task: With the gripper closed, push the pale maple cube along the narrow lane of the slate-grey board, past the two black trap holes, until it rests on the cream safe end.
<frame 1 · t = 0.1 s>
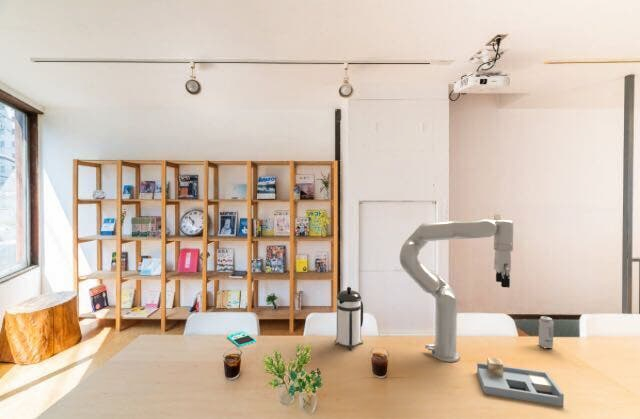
hand: (502, 284, 146), 37 cm above the table, tool pointing down, fingers open, 9 cm apart
maple cube: (494, 372, 133), point 3 cm above the table, touching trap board
energy drink can: (545, 347, 164), on the table
coffee press: (349, 343, 168), on the table
handheld game console: (241, 340, 172), on the table
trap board: (516, 388, 128), on the table
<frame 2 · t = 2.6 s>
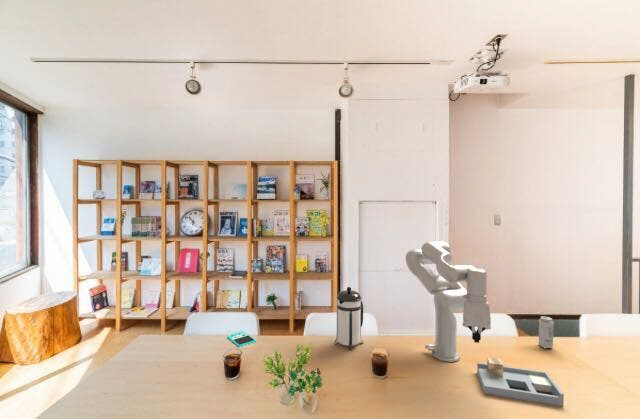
hand: (476, 341, 135), 15 cm above the table, tool pointing down, fingers closed
nothing on the table moved.
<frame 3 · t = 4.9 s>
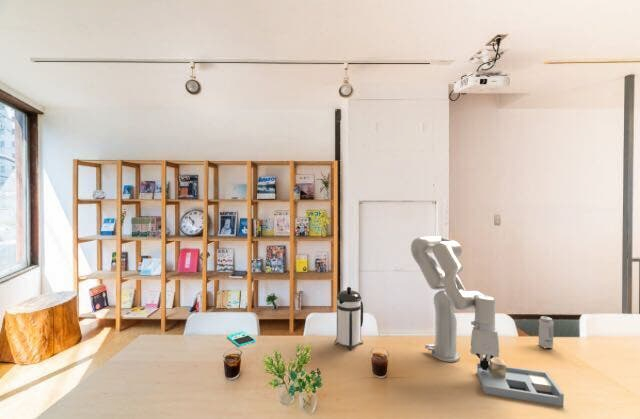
hand: (484, 368, 134), 4 cm above the table, tool pointing down, fingers closed
maple cube: (497, 373, 133), point 3 cm above the table, touching gripper, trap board
everything else where it was.
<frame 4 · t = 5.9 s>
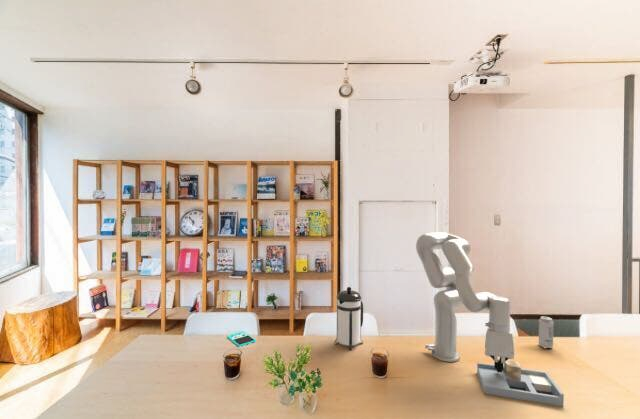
hand: (498, 370, 133), 4 cm above the table, tool pointing down, fingers closed
maple cube: (512, 375, 131), point 3 cm above the table, touching gripper, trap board
everything else where it was.
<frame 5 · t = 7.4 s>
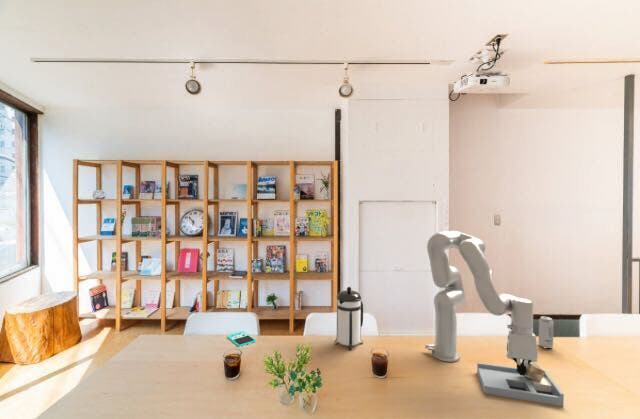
hand: (521, 373, 130), 4 cm above the table, tool pointing down, fingers closed
maple cube: (531, 376, 130), point 4 cm above the table, tilted 19°, touching gripper, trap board
everything else where it was.
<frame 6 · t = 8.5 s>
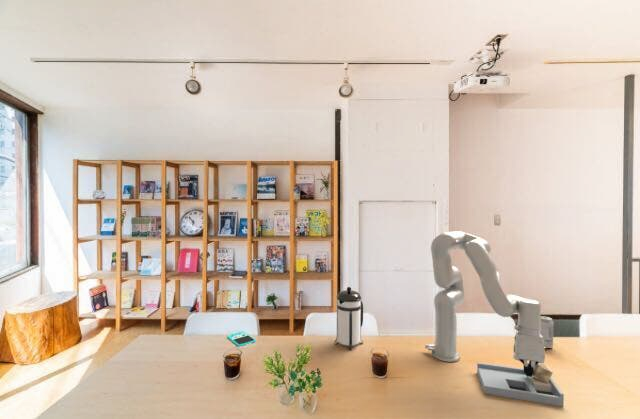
hand: (528, 375, 130), 4 cm above the table, tool pointing down, fingers closed
maple cube: (538, 377, 129), point 4 cm above the table, tilted 19°, touching gripper, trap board
everything else where it was.
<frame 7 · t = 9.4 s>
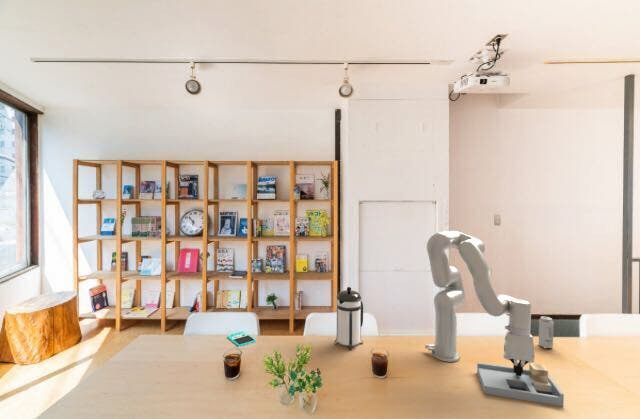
hand: (517, 374, 131), 4 cm above the table, tool pointing down, fingers closed
maple cube: (538, 379, 129), point 3 cm above the table, touching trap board
everything else where it was.
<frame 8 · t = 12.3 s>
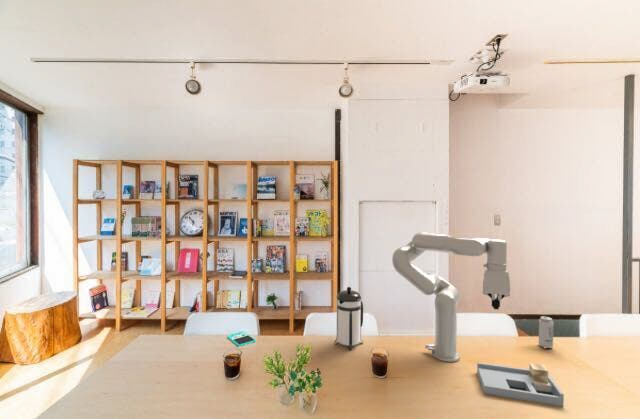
hand: (495, 308, 142), 27 cm above the table, tool pointing down, fingers closed
nothing on the table moved.
at the end: maple cube 0.6 cm from the target spot, point 3.0 cm above the table; maple cube tilted 0°; maple cube moved 15.7 cm from its start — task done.
